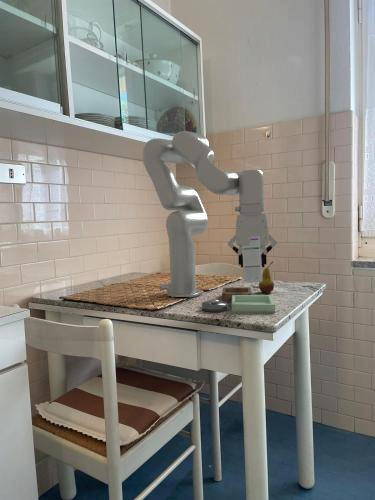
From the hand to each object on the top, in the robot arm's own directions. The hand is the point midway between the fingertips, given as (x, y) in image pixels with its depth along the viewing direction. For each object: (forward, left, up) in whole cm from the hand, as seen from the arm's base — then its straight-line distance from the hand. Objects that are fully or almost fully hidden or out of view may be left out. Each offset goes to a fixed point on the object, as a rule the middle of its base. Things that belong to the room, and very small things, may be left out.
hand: (252, 266), depth 120 cm
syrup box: (0, 0, -5) cm, 5 cm away
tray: (0, 0, -13) cm, 13 cm away
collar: (-5, +12, -13) cm, 19 cm away
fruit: (+6, +22, -14) cm, 27 cm away
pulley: (-12, -3, -13) cm, 18 cm away
